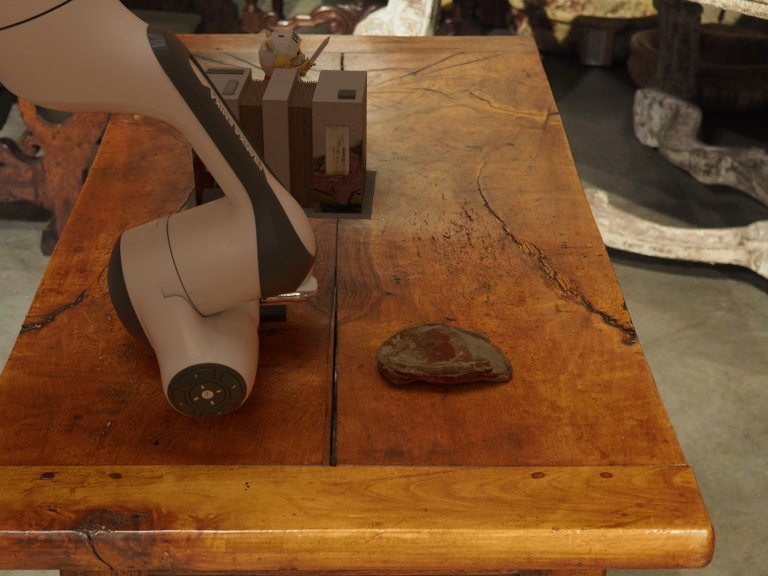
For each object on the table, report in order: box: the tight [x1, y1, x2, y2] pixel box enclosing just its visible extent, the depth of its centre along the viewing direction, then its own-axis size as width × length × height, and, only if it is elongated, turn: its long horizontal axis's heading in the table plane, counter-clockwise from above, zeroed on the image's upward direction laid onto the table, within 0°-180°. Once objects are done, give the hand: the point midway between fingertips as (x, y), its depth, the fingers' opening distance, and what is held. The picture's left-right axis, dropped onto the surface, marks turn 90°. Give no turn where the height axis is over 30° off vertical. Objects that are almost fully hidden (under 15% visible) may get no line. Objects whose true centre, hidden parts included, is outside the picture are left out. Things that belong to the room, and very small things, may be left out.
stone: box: [375, 321, 514, 386], centre depth 112 cm, size 13×10×3 cm
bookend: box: [184, 65, 377, 220], centre depth 145 cm, size 16×25×16 cm, turn 88°
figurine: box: [258, 29, 331, 83], centre depth 168 cm, size 13×11×15 cm
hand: (221, 239), depth 120 cm, fingers open, 8 cm apart
